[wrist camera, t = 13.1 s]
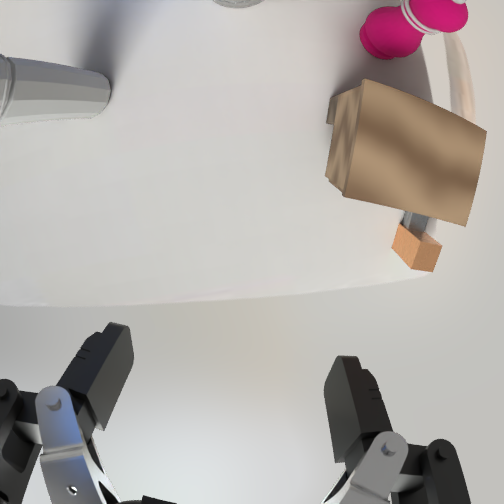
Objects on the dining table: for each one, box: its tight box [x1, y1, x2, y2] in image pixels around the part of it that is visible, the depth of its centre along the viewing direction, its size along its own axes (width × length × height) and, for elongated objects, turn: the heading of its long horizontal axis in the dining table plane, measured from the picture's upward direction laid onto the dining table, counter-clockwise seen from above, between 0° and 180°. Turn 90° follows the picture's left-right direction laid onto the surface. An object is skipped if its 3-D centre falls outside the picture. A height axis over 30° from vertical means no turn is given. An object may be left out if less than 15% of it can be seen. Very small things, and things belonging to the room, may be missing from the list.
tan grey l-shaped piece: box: [392, 211, 442, 272], centre depth 34 cm, size 14×4×7 cm, turn 172°
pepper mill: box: [360, 0, 468, 60], centre depth 19 cm, size 7×7×20 cm
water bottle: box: [0, 54, 111, 127], centre depth 21 cm, size 9×8×25 cm
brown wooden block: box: [325, 79, 487, 226], centre depth 28 cm, size 11×15×14 cm
